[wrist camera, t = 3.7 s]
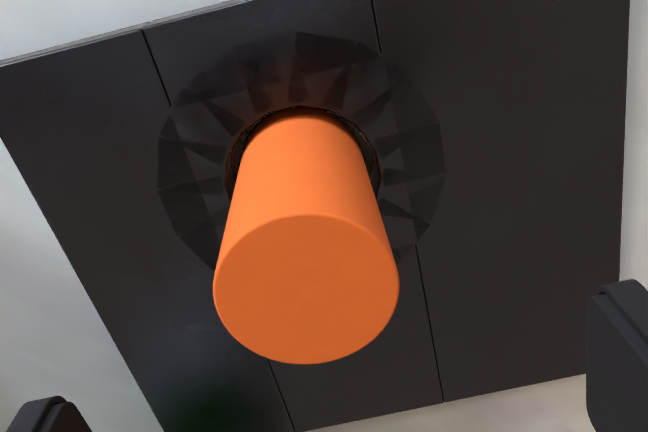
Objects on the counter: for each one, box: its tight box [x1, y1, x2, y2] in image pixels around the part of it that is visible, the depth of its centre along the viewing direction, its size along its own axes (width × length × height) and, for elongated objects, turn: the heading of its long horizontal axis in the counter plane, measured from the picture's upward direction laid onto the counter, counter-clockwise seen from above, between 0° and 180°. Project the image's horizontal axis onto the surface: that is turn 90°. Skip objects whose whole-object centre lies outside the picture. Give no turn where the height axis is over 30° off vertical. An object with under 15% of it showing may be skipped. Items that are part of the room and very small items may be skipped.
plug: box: [213, 107, 400, 365], centre depth 16 cm, size 4×4×8 cm
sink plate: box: [0, 0, 630, 432], centre depth 20 cm, size 20×18×2 cm
